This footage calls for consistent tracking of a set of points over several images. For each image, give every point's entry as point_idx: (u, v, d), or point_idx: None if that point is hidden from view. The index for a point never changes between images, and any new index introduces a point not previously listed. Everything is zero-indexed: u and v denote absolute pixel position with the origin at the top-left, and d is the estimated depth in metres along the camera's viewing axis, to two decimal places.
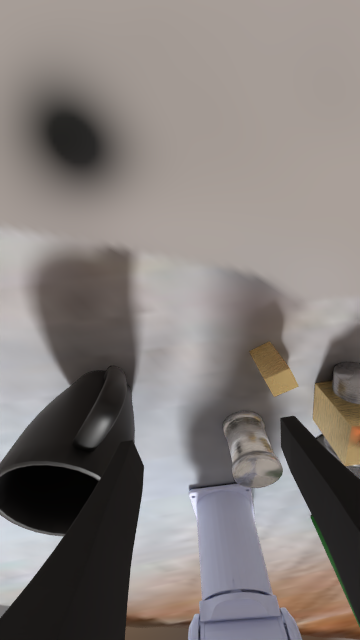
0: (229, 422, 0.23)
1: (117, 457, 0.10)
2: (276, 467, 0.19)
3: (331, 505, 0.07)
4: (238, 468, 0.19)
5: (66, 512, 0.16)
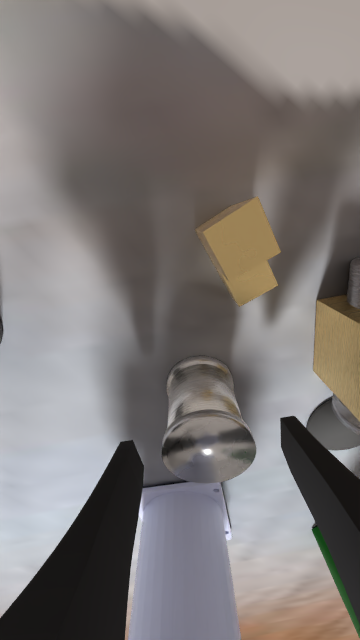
0: (174, 375, 0.14)
1: (117, 457, 0.10)
2: (244, 441, 0.10)
3: (331, 505, 0.07)
4: (170, 444, 0.10)
5: None
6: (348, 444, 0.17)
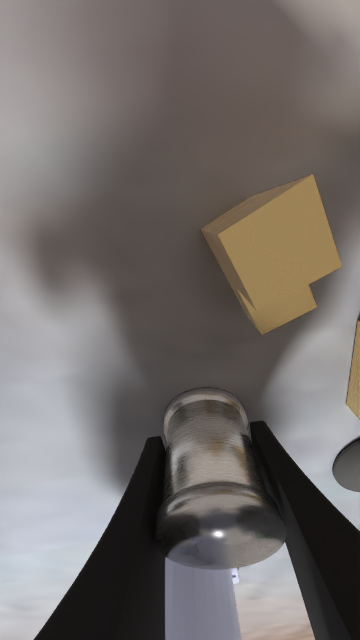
0: (173, 412, 0.11)
1: (148, 453, 0.09)
2: (270, 527, 0.07)
3: (286, 510, 0.07)
4: (166, 529, 0.07)
5: None
6: None
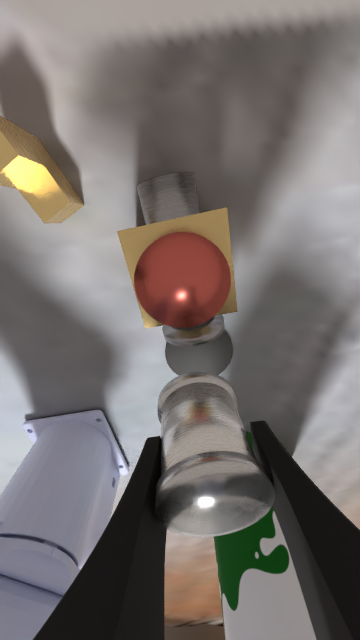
0: (165, 399, 0.12)
1: (147, 453, 0.09)
2: (258, 486, 0.08)
3: (287, 510, 0.07)
4: (163, 502, 0.08)
5: None
6: None
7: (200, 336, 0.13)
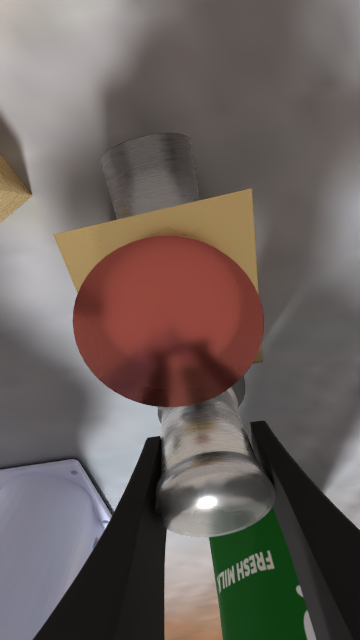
0: None
1: (147, 453, 0.09)
2: (259, 487, 0.08)
3: (287, 510, 0.07)
4: (164, 502, 0.08)
5: None
6: None
7: None
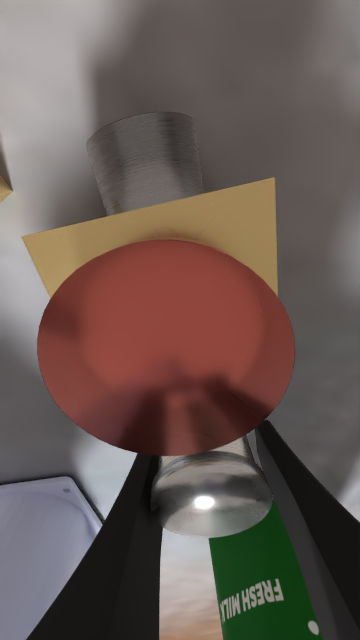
0: None
1: None
2: (255, 489, 0.08)
3: (293, 509, 0.07)
4: (158, 499, 0.08)
5: None
6: None
7: None
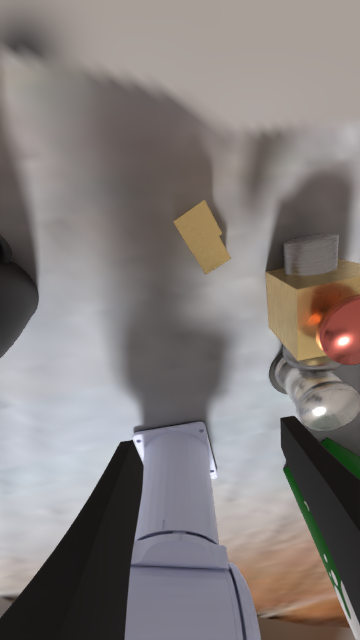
0: (283, 364, 0.20)
1: (117, 457, 0.10)
2: (354, 399, 0.16)
3: (331, 505, 0.07)
4: (306, 405, 0.16)
5: None
6: None
7: (332, 364, 0.16)
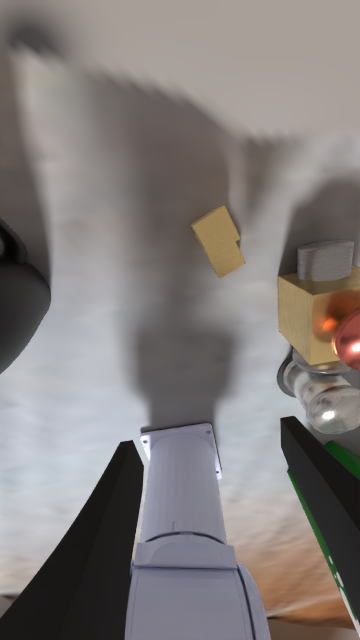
0: (291, 367, 0.20)
1: (117, 457, 0.10)
2: None
3: (331, 505, 0.07)
4: (317, 408, 0.16)
5: None
6: None
7: (343, 368, 0.16)
